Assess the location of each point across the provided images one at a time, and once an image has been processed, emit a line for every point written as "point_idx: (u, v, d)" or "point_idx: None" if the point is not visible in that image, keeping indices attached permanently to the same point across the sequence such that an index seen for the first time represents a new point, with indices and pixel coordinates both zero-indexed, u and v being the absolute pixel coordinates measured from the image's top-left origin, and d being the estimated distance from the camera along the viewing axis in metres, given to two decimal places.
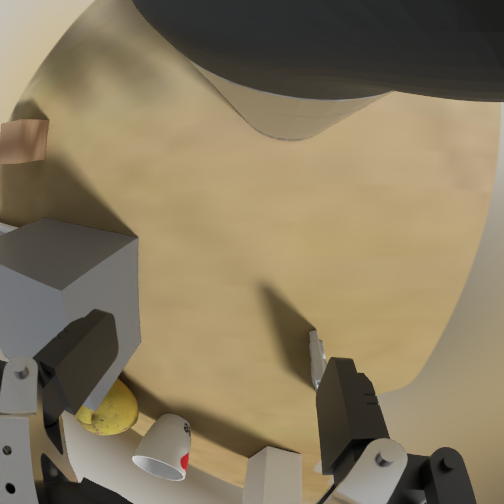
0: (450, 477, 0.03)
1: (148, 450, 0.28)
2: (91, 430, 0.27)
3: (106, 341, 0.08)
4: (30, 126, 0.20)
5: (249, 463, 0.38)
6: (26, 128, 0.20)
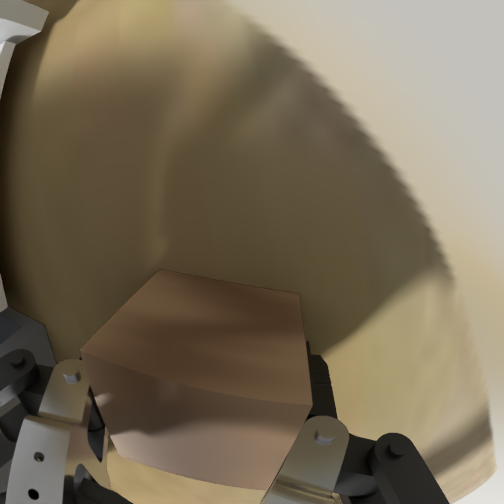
0: (401, 464, 0.04)
1: None
2: None
3: None
4: None
5: None
6: None
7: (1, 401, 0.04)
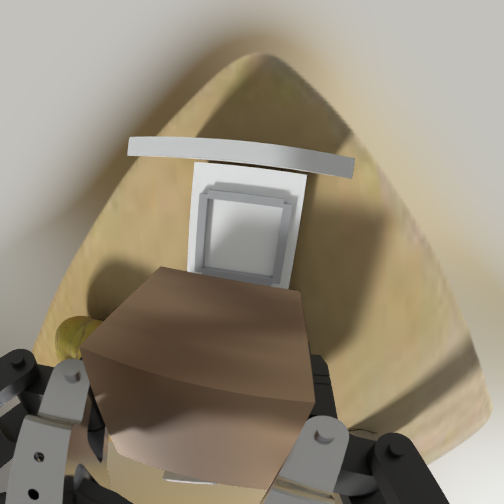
0: (401, 464, 0.04)
1: None
2: None
3: None
4: None
5: None
6: None
7: (1, 400, 0.04)
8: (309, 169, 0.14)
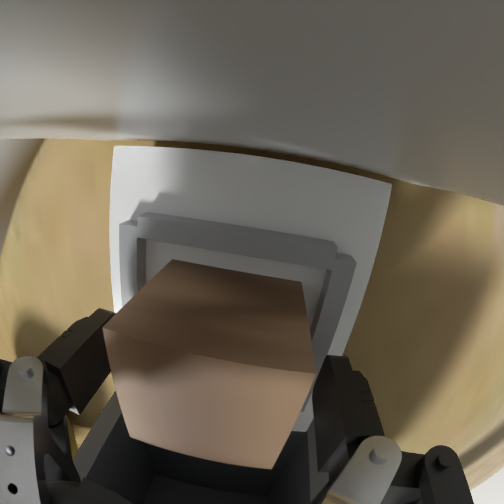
0: (445, 475, 0.03)
1: None
2: None
3: None
4: None
5: None
6: None
7: None
8: None
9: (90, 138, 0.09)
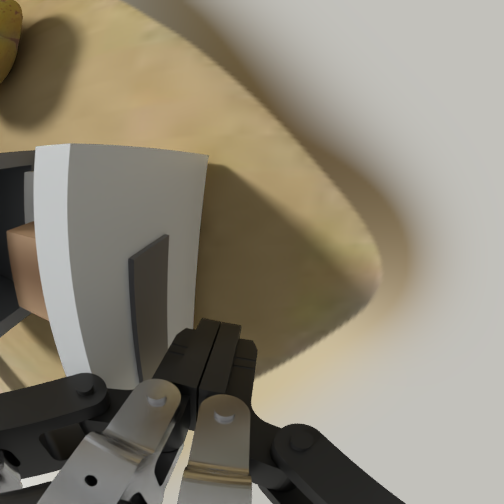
0: (311, 457, 0.04)
1: None
2: None
3: None
4: None
5: None
6: None
7: (53, 424, 0.04)
8: None
9: None
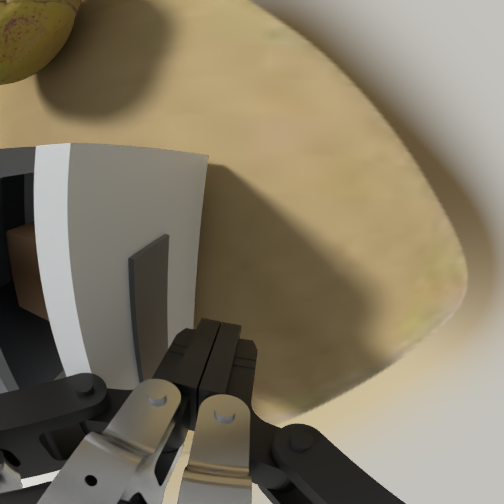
0: (311, 457, 0.04)
1: None
2: None
3: None
4: None
5: None
6: None
7: (53, 424, 0.04)
8: None
9: None
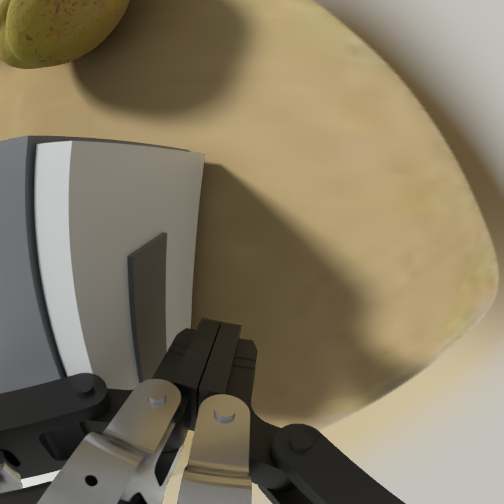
0: (311, 457, 0.04)
1: None
2: None
3: None
4: None
5: None
6: None
7: (53, 424, 0.04)
8: None
9: None
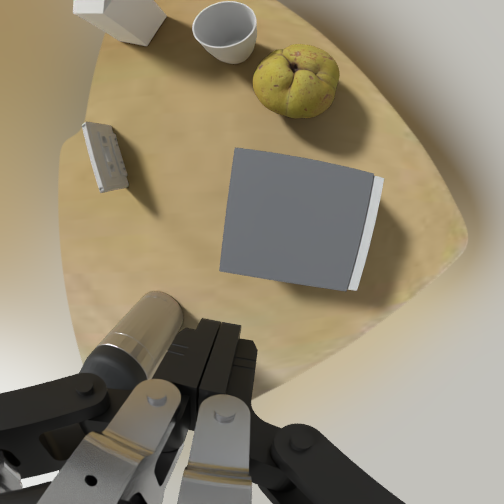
0: (312, 457, 0.04)
1: (232, 48, 0.27)
2: (302, 58, 0.26)
3: None
4: None
5: (161, 16, 0.31)
6: None
7: (53, 424, 0.04)
8: (354, 270, 0.30)
9: None
